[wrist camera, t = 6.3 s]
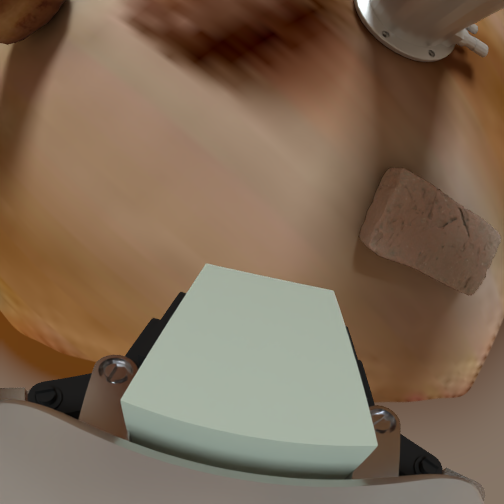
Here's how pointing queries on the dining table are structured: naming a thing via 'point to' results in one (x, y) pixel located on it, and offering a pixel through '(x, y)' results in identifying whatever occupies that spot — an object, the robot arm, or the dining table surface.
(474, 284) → the brick
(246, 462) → the block
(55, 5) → the brown oblong lump
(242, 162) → the dining table surface
